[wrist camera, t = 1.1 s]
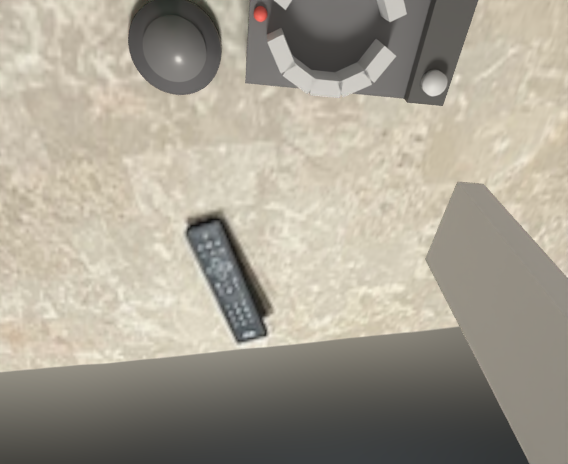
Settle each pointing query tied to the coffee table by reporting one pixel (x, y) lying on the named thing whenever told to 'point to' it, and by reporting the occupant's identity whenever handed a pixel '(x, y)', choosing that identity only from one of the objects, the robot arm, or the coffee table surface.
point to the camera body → (358, 46)
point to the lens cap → (175, 46)
